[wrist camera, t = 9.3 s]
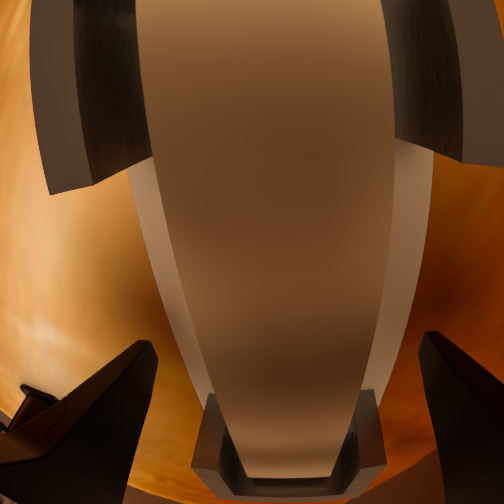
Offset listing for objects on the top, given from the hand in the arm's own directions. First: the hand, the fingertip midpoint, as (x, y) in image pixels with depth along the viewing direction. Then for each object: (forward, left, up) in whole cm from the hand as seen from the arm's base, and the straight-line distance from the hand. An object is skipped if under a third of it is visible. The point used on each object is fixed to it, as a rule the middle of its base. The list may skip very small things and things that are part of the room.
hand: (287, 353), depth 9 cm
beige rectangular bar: (0, 0, -2) cm, 3 cm away
